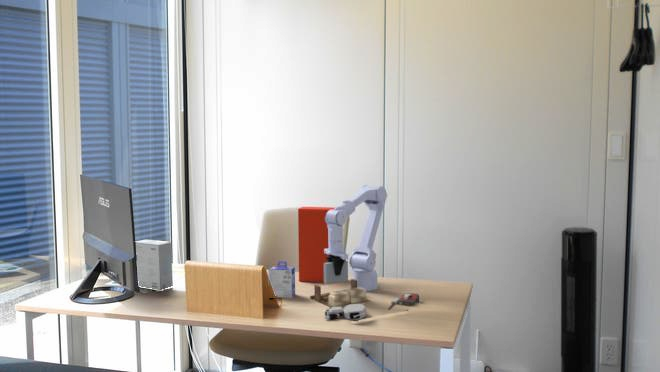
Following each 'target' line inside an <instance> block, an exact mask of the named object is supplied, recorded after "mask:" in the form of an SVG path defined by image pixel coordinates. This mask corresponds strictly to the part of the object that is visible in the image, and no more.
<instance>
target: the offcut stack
mask: <svg viewBox="0 0 660 372" xmlns="http://www.w3.org/2000/svg"><path fill="white" fill-rule="evenodd" d="M343 290H345V291H343ZM329 293H330V292H329ZM328 297H329V305H331V306H334V307H335V306H341V305H346V304H350V303H357V302H362V301H366V299H367V291H366V289H364V288H361V287H359V288H353V289H351V288H347V289H342V291H341V290H337V291H331V293H330V295H328ZM362 303H363V302H362ZM357 304H358V303H357ZM346 306H347V305H346ZM341 307H342V306H341Z"/></svg>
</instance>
